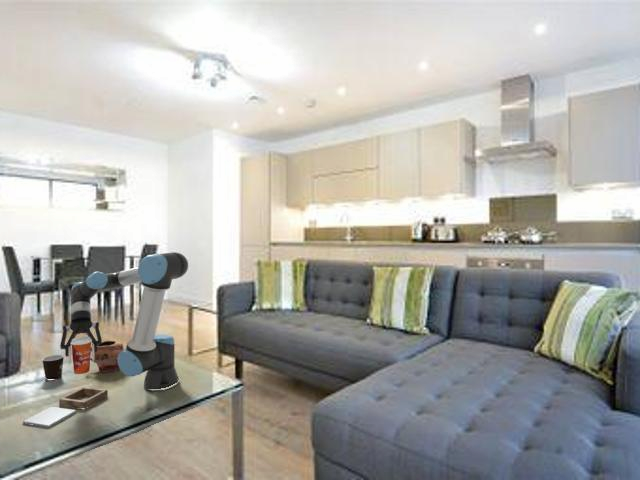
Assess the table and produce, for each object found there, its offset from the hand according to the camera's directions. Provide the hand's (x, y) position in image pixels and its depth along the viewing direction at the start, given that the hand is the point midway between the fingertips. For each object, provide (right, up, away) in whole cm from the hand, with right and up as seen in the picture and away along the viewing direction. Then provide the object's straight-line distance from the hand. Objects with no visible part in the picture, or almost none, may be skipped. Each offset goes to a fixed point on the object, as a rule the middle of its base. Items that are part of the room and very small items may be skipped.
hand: (81, 360), depth 162 cm
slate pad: (-6, -19, -10) cm, 22 cm away
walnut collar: (-2, -18, +4) cm, 19 cm away
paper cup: (-2, -6, +3) cm, 7 cm away
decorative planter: (-12, -17, +39) cm, 44 cm away
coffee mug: (-30, -17, +30) cm, 46 cm away
